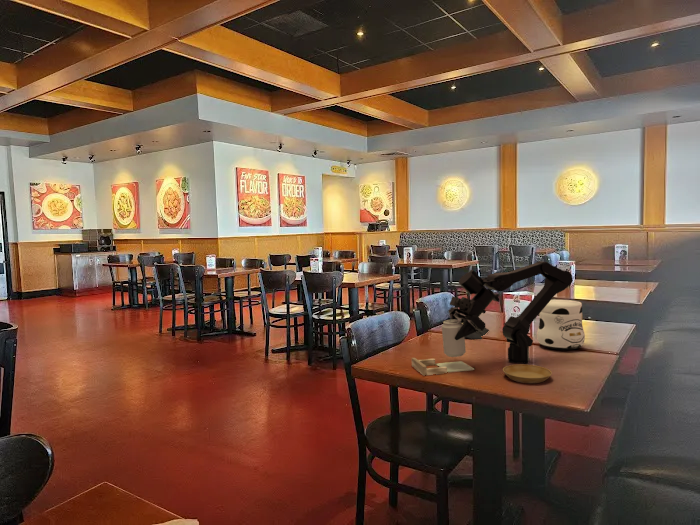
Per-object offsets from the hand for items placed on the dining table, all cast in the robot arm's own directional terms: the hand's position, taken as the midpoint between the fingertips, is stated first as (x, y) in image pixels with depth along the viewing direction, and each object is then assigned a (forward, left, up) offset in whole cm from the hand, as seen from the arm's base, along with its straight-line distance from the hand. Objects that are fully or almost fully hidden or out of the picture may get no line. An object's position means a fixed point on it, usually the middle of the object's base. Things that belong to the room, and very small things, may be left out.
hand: (450, 336), depth 169 cm
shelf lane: (+6, +5, -11) cm, 13 cm away
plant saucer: (-25, +3, -11) cm, 28 cm away
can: (-1, -1, -7) cm, 7 cm away
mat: (-1, -1, -11) cm, 11 cm away
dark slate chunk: (+7, -55, -12) cm, 56 cm away
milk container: (-32, -42, -11) cm, 55 cm away
